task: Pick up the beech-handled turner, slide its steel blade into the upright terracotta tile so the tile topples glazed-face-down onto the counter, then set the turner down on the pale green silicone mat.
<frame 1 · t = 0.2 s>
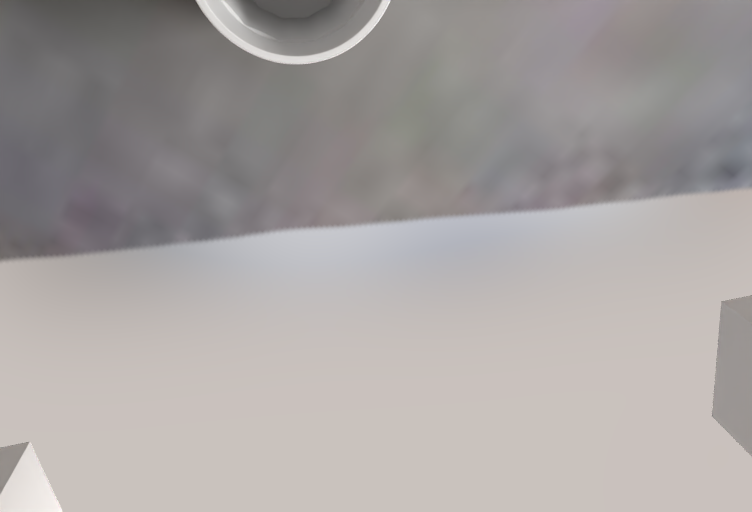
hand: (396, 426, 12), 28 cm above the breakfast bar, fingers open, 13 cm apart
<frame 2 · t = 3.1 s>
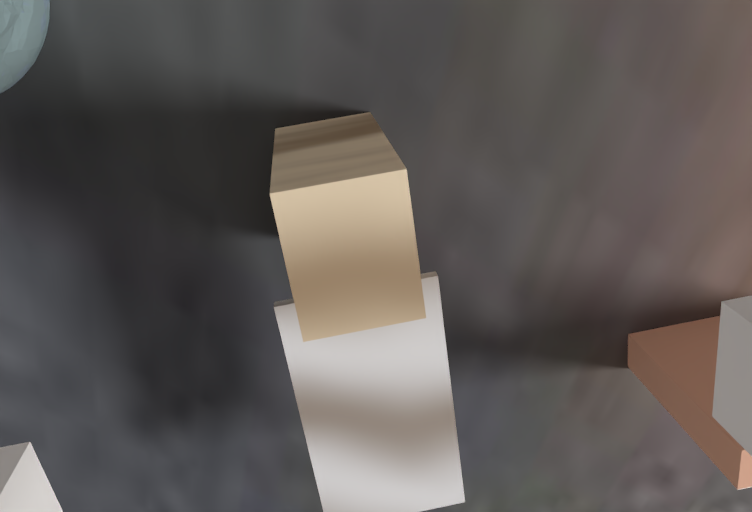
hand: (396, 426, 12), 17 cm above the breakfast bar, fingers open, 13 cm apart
turner: (333, 177, 27), on the breakfast bar
tile: (709, 333, 33), on the breakfast bar
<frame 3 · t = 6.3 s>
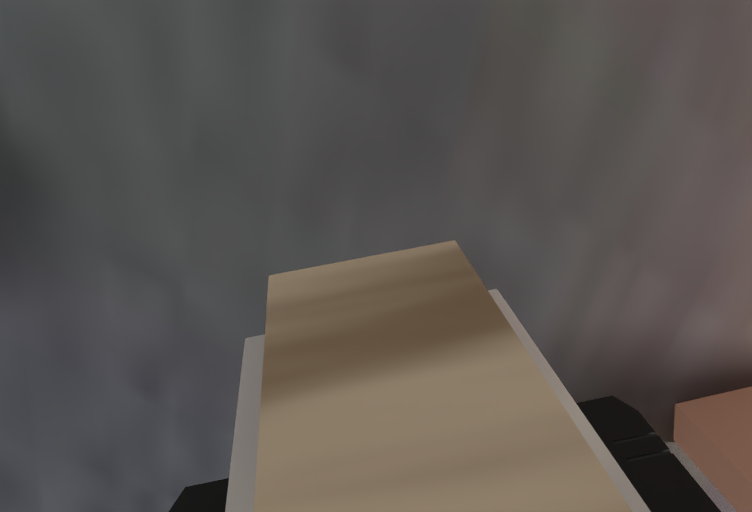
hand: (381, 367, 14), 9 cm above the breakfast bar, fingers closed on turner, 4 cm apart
turner: (379, 356, 14), point 9 cm above the breakfast bar, touching gripper
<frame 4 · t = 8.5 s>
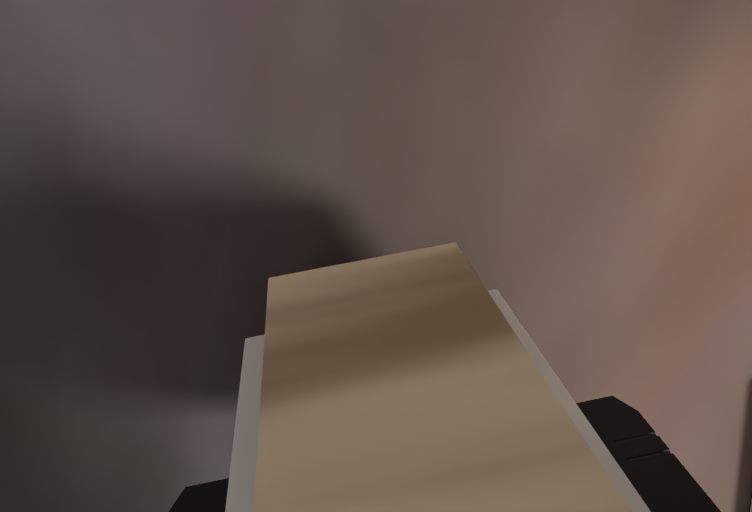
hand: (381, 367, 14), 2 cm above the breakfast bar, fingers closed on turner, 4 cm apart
turner: (380, 359, 14), point 2 cm above the breakfast bar, touching gripper
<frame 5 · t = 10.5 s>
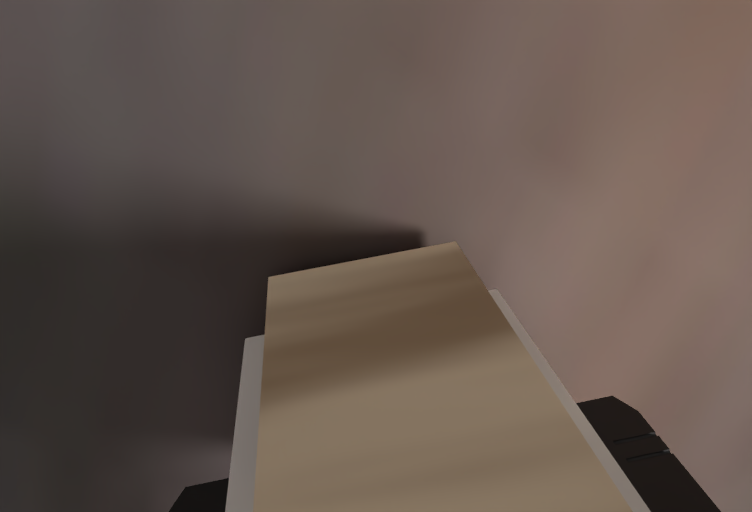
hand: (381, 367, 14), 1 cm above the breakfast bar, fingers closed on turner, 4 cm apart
turner: (380, 358, 14), on the breakfast bar, touching gripper
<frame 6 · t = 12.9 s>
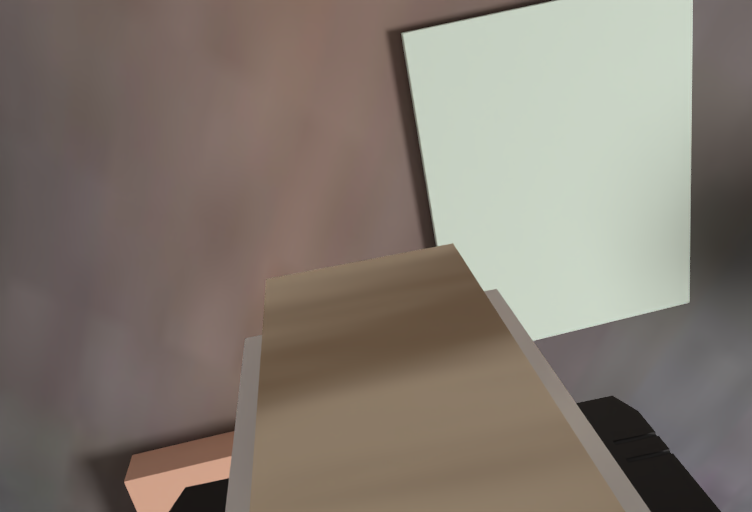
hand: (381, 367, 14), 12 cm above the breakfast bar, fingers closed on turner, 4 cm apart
turner: (378, 360, 14), point 12 cm above the breakfast bar, touching gripper
tile: (230, 441, 28), point 1 cm above the breakfast bar, tilted 90°
mat: (559, 181, 26), on the breakfast bar
when the fingers open (1 cm above the breakfast bar, at t = 14.9 s): turner stays where it is, resting on mat.
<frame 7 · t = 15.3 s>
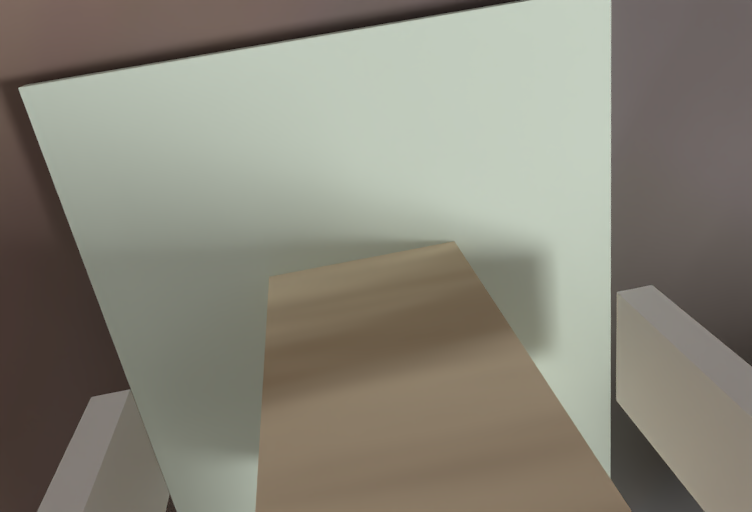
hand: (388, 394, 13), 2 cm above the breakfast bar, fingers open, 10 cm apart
turner: (379, 357, 14), resting on mat
mat: (376, 347, 15), on the breakfast bar
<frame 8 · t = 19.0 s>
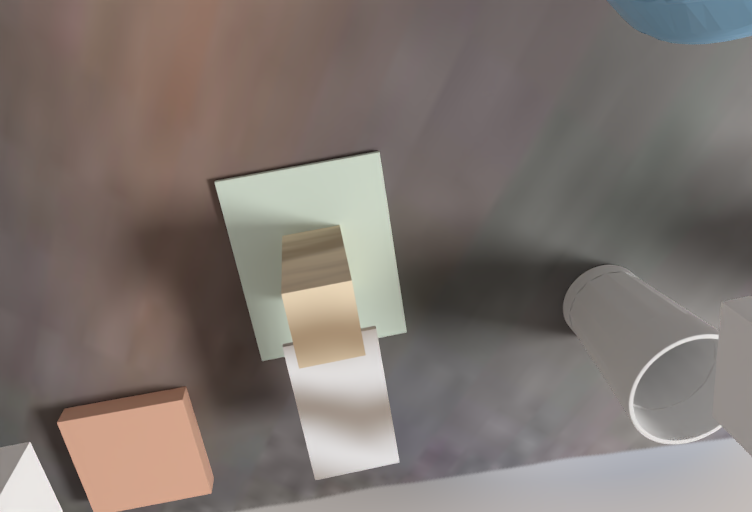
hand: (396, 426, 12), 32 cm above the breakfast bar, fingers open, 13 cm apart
turner: (317, 263, 45), resting on mat
tile: (123, 402, 47), point 1 cm above the breakfast bar, tilted 90°
mat: (317, 260, 45), on the breakfast bar
cup: (600, 300, 50), on the breakfast bar
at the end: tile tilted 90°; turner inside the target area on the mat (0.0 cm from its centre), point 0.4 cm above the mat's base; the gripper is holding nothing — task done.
